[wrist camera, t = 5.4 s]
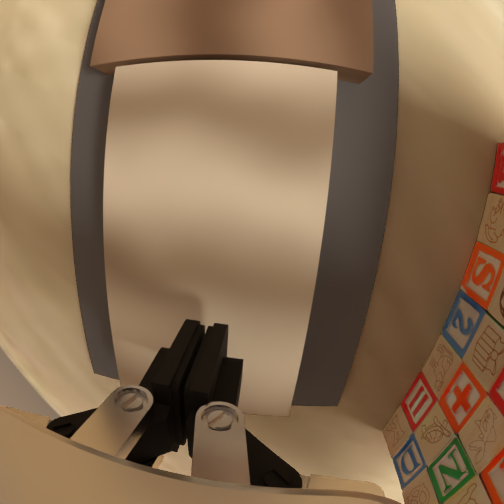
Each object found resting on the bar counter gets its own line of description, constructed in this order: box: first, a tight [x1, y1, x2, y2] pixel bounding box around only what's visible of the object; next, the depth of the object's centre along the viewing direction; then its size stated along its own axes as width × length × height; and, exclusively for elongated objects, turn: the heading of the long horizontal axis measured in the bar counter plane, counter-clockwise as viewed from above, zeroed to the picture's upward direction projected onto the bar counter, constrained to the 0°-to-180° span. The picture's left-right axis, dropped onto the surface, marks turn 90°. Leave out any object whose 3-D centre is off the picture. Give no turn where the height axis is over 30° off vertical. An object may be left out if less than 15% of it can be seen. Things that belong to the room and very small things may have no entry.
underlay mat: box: [71, 0, 399, 406], centre depth 13 cm, size 16×31×1 cm, turn 175°
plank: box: [103, 60, 337, 417], centre depth 13 cm, size 16×9×2 cm, turn 175°
